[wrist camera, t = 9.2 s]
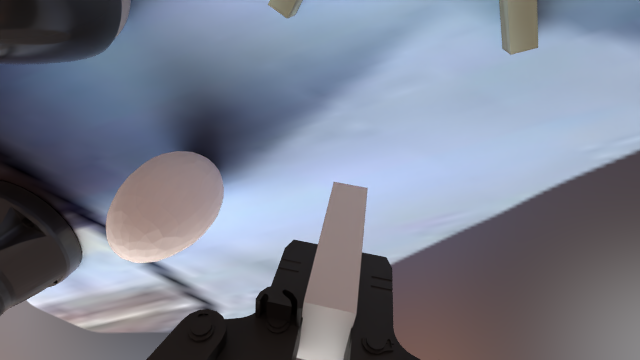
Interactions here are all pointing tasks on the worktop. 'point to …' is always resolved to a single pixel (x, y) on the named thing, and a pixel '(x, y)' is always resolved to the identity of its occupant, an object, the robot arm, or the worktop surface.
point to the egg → (164, 206)
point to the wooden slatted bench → (514, 16)
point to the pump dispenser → (58, 29)
